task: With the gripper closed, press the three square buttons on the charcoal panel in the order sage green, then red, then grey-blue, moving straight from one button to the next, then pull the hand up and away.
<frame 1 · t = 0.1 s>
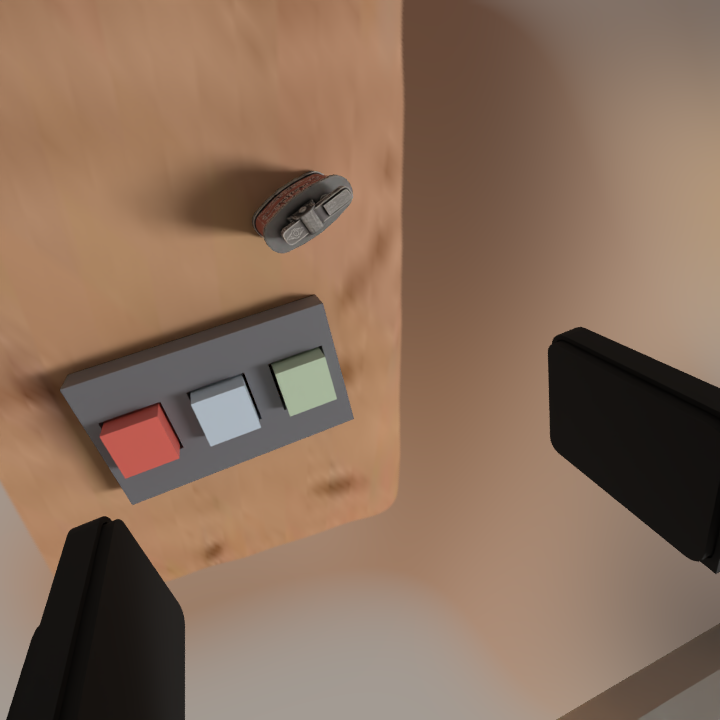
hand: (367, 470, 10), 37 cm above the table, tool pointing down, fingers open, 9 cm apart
bluegrey button: (225, 407, 45), point 3 cm above the table, slide at 0.0 cm
red button: (142, 437, 43), point 3 cm above the table, slide at 0.0 cm
sage button: (303, 379, 46), point 3 cm above the table, slide at 0.0 cm
button panel: (223, 392, 47), on the table
lighter: (289, 204, 42), on the table
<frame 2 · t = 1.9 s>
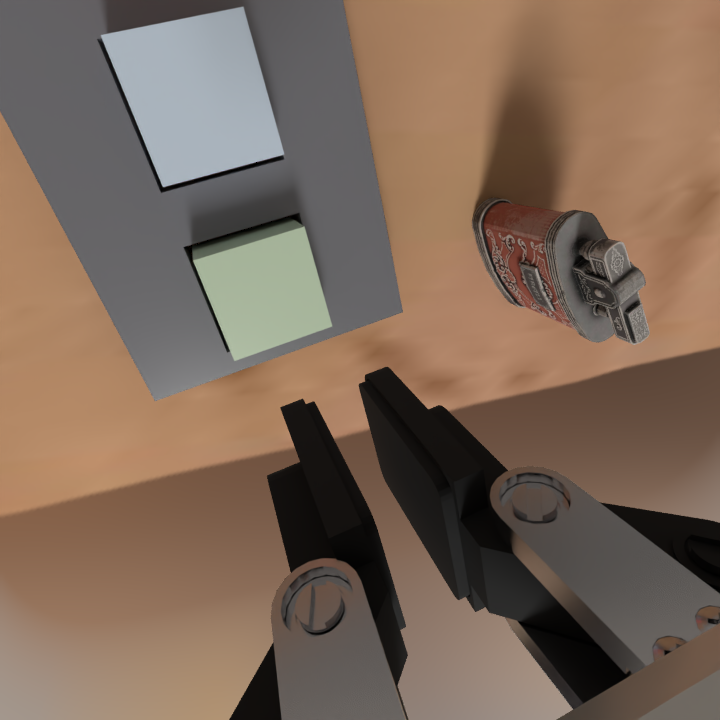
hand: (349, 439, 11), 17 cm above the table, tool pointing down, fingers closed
bluegrey button: (200, 104, 19), point 3 cm above the table, slide at 0.0 cm
sage button: (262, 286, 22), point 3 cm above the table, slide at 0.0 cm
button panel: (198, 110, 21), on the table
lighter: (504, 253, 30), on the table
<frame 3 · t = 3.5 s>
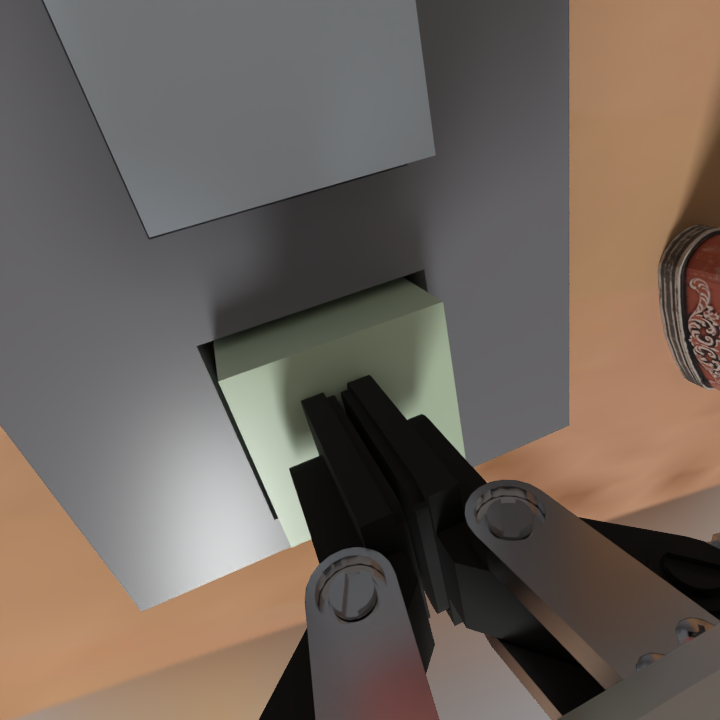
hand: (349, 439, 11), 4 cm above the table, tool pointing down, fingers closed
bluegrey button: (240, 36, 8), point 3 cm above the table, slide at 0.0 cm
sage button: (341, 398, 12), point 3 cm above the table, slide at 0.6 cm, touching gripper
button panel: (227, 65, 11), on the table
lighter: (691, 309, 20), on the table
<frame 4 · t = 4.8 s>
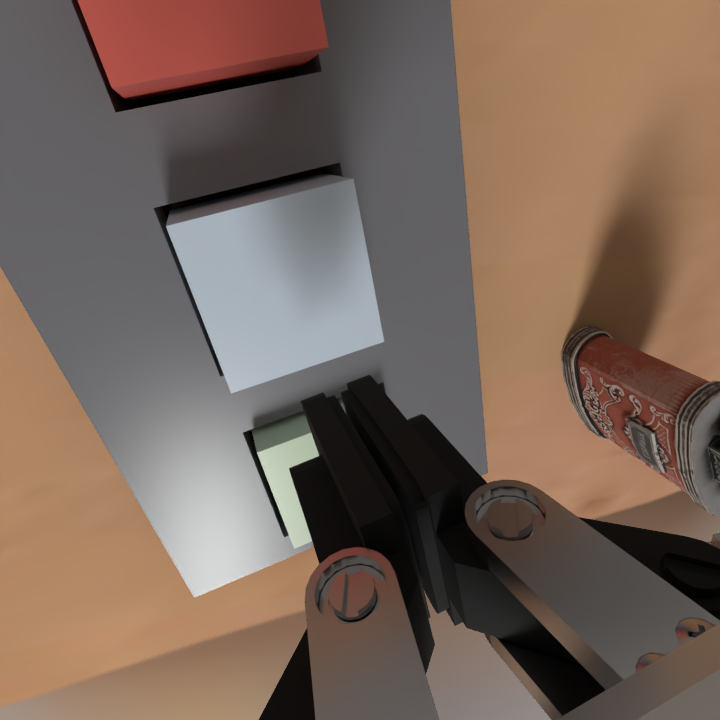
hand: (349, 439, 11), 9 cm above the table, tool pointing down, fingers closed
bluegrey button: (278, 277, 14), point 3 cm above the table, slide at 0.0 cm
sage button: (327, 453, 19), point 2 cm above the table, slide at 0.9 cm
button panel: (263, 256, 17), on the table
lighter: (590, 381, 26), on the table
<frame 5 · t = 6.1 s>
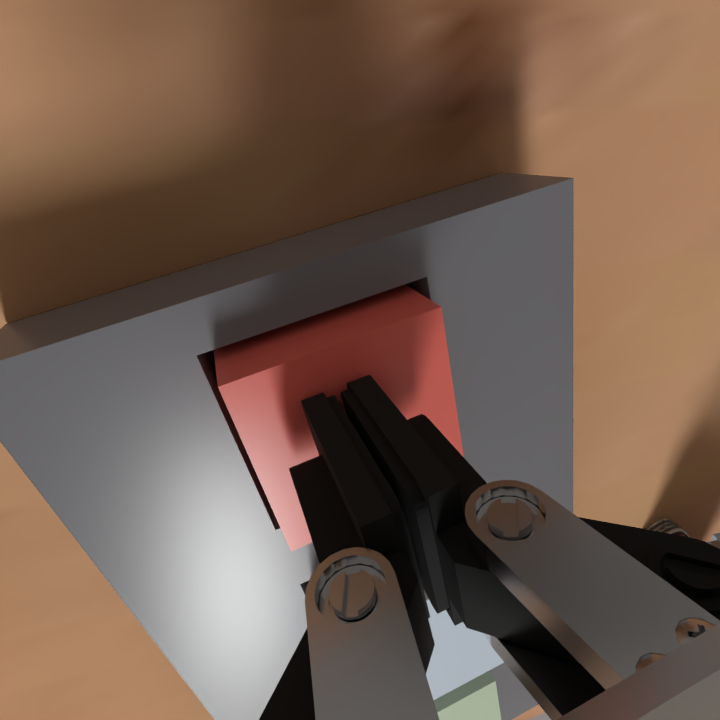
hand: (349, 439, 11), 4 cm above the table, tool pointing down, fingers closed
bluegrey button: (404, 607, 15), point 3 cm above the table, slide at 0.0 cm
red button: (340, 402, 12), point 3 cm above the table, slide at 0.8 cm, touching gripper
sage button: (427, 698, 20), point 2 cm above the table, slide at 0.9 cm
button panel: (371, 535, 18), on the table
lighter: (660, 557, 27), on the table
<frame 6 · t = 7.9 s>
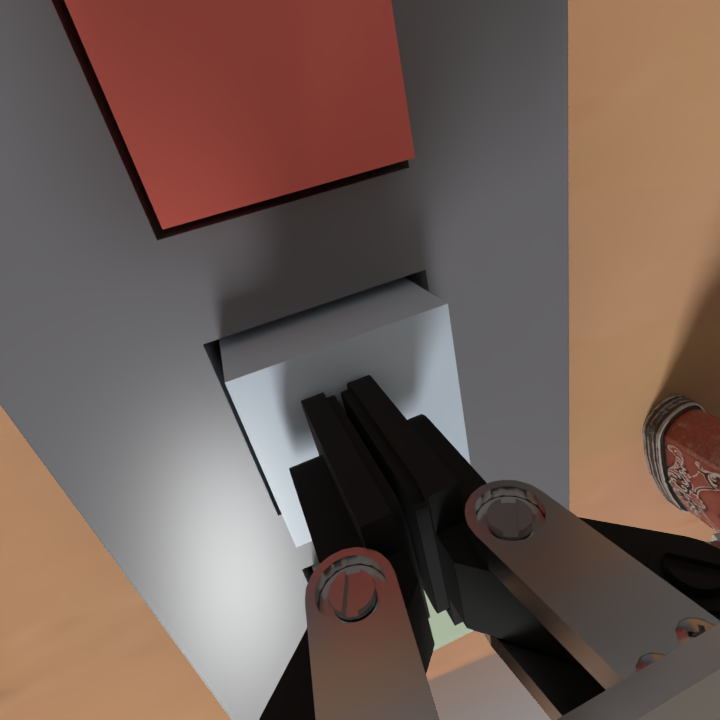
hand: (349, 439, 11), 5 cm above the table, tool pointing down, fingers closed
bluegrey button: (346, 399, 12), point 3 cm above the table, slide at 0.4 cm, touching gripper
red button: (242, 52, 9), point 2 cm above the table, slide at 0.9 cm
sage button: (393, 572, 16), point 2 cm above the table, slide at 0.9 cm
button panel: (320, 356, 15), on the table
lighter: (672, 450, 23), on the table
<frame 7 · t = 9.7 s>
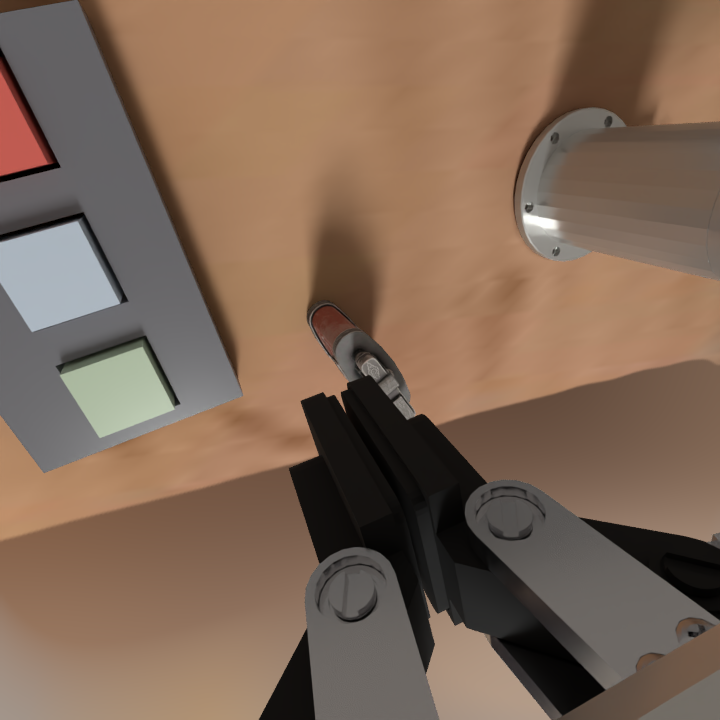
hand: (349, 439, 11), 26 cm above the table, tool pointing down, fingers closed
bluegrey button: (60, 271, 27), point 2 cm above the table, slide at 0.9 cm
sage button: (122, 382, 31), point 2 cm above the table, slide at 0.9 cm
button panel: (67, 263, 29), on the table
lighter: (340, 338, 39), on the table
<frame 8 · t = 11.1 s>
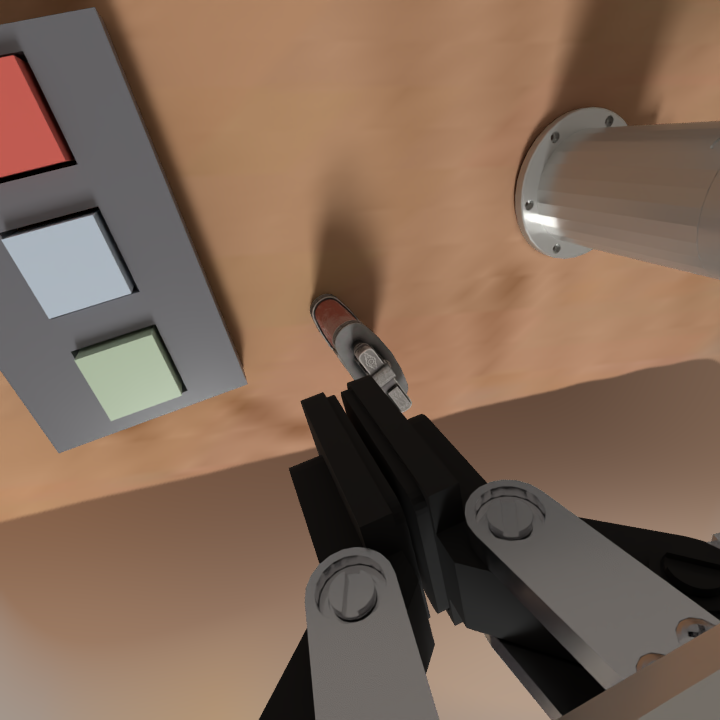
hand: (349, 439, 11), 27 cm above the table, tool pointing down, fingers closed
bluegrey button: (76, 262, 29), point 2 cm above the table, slide at 0.9 cm
red button: (1, 123, 25), point 2 cm above the table, slide at 0.9 cm
sage button: (133, 368, 33), point 2 cm above the table, slide at 0.9 cm
button panel: (83, 254, 31), on the table
lighter: (342, 331, 40), on the table
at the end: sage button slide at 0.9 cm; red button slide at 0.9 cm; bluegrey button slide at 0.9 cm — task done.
